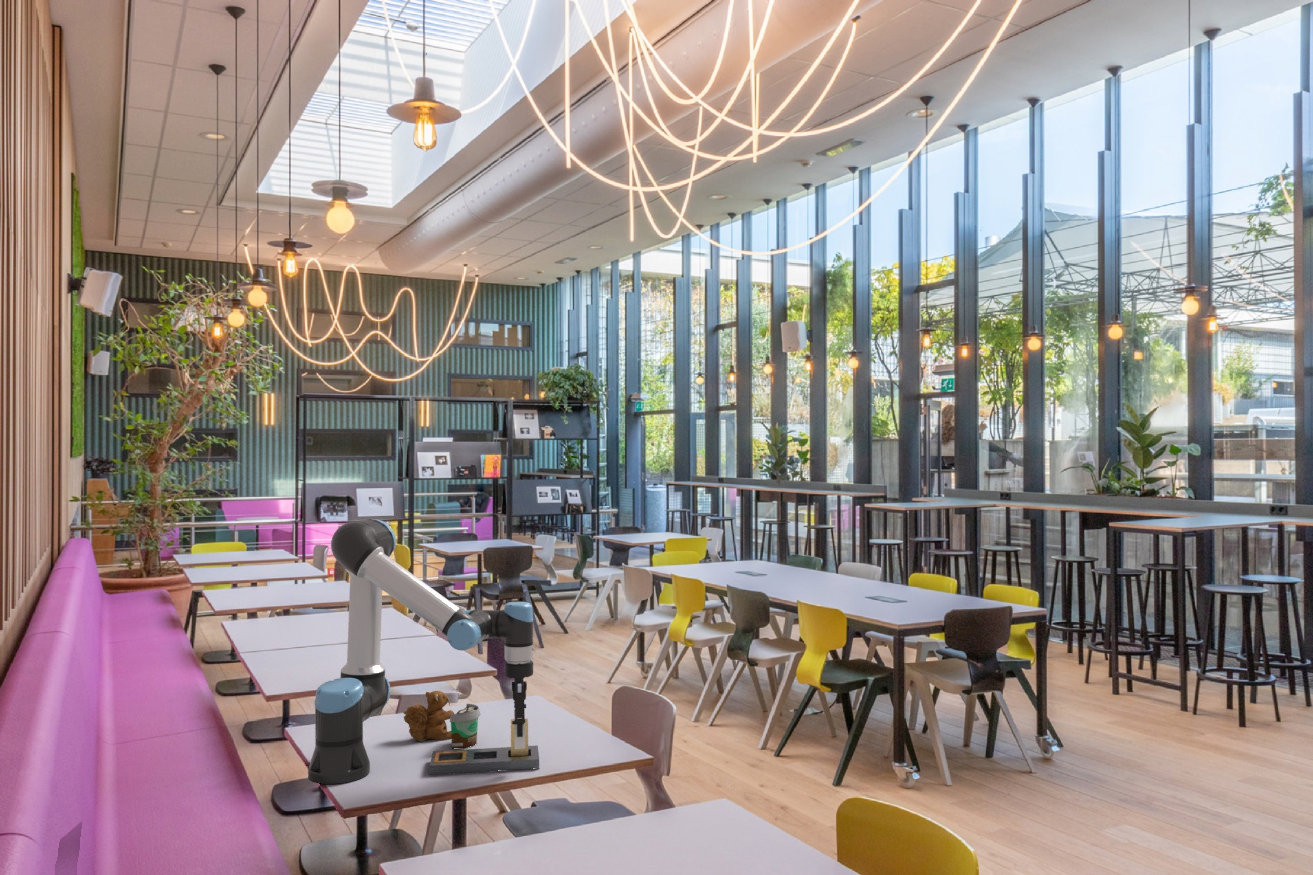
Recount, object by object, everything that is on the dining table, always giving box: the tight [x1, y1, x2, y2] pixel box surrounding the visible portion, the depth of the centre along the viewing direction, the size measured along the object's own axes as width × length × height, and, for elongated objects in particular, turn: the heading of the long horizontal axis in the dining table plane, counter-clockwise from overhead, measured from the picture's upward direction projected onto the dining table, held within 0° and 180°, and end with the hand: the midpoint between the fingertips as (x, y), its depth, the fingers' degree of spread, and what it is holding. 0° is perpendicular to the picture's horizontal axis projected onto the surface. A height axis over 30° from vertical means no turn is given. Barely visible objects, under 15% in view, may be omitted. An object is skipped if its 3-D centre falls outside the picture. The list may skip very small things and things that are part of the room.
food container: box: [449, 703, 482, 750], centre depth 266 cm, size 12×6×10 cm, turn 168°
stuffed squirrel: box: [402, 690, 455, 742], centre depth 273 cm, size 10×14×13 cm
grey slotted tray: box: [428, 745, 540, 776], centre depth 248 cm, size 28×12×3 cm, turn 99°
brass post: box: [510, 718, 529, 757], centre depth 249 cm, size 4×4×11 cm
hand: (519, 741), depth 249 cm, fingers open, 13 cm apart
